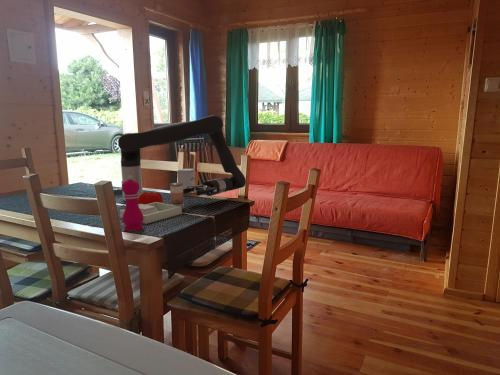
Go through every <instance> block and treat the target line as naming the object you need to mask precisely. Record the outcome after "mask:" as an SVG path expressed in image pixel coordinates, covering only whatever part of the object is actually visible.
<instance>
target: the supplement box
mask: <svg viewBox="0 0 500 375" xmlns="http://www.w3.org/2000/svg"><path fill="white" fill-rule="evenodd" d="M177 183H183V189H185V188H187V187H188V186H193V185H196V178H195V168H181V169H178V170H177ZM192 193H193V192H191V193H190V194H192Z"/></svg>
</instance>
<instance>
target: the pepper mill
mask: <svg viewBox="0 0 500 375" xmlns="http://www.w3.org/2000/svg"><path fill="white" fill-rule="evenodd" d="M127 179H128V180H127V181H125V182H124V183H123V184H122V183H121V192H122V191H123V192H124V193H125V194H124V198H125V200H126V201H125V211H124V214H123V217H122V218H121V219H122V223H123V224H124V227H123V228H124V231H128V232H131V231H139V230H141V229H143V228H144V225H143V223H142V222H143V220H144V218H143V214H142V212H141V210H140V208H139V206H138V197H139V196H138V193H137V192H138V191H139V188H140V187H139V183H138V182H137V181H135V180H132V179H133V177H132V176H128V177H127Z"/></svg>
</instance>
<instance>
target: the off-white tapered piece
mask: <svg viewBox="0 0 500 375" xmlns="http://www.w3.org/2000/svg"><path fill="white" fill-rule="evenodd" d="M138 206H139V208H140V210H141V212H142V214H143V215H148V214H152V213H156V212H157V208H155V206H150V205H144V204H138Z"/></svg>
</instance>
